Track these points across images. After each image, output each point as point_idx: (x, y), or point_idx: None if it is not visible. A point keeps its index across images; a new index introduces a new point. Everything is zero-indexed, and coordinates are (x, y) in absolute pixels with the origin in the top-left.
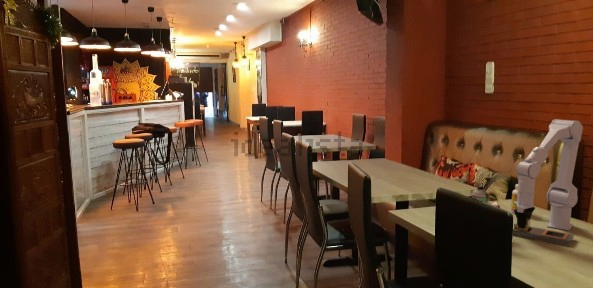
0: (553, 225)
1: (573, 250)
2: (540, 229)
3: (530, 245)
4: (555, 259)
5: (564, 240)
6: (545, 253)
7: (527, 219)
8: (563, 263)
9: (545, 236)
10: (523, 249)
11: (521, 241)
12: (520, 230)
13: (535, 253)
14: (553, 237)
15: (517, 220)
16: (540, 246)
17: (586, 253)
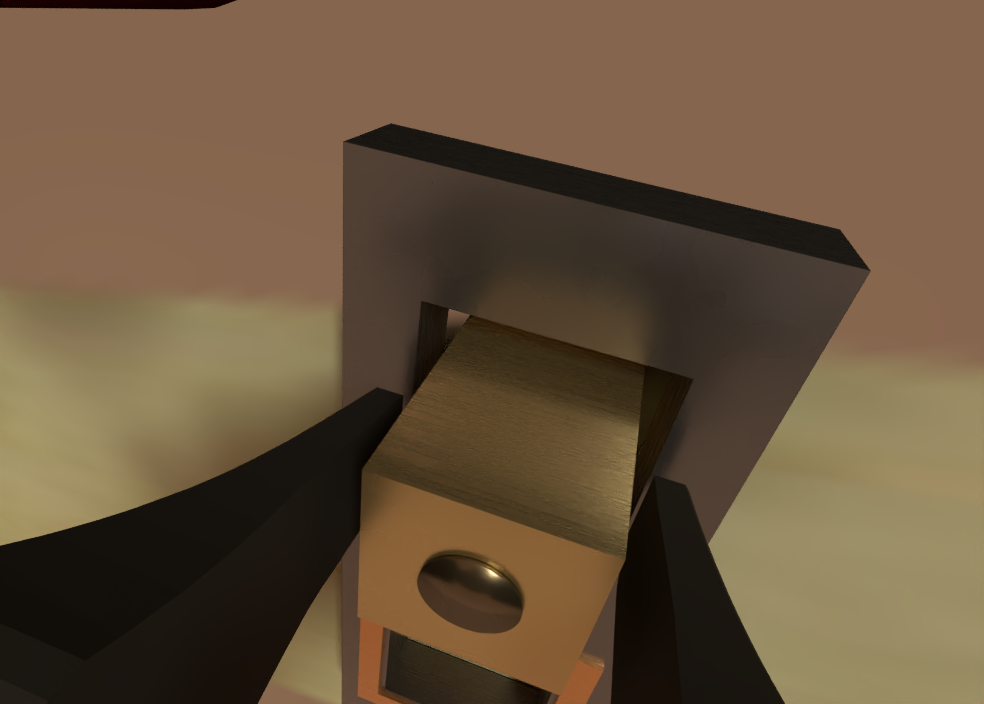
0: None
1: (292, 648)
2: (596, 623)
3: (161, 406)
4: (31, 506)
5: (343, 680)
6: (79, 477)
7: (457, 634)
8: (13, 528)
9: (342, 591)
10: (10, 334)
11: (209, 339)
12: (394, 390)
13: (15, 412)
14: (352, 640)
15: (257, 458)
16: (204, 479)
17: (289, 686)
